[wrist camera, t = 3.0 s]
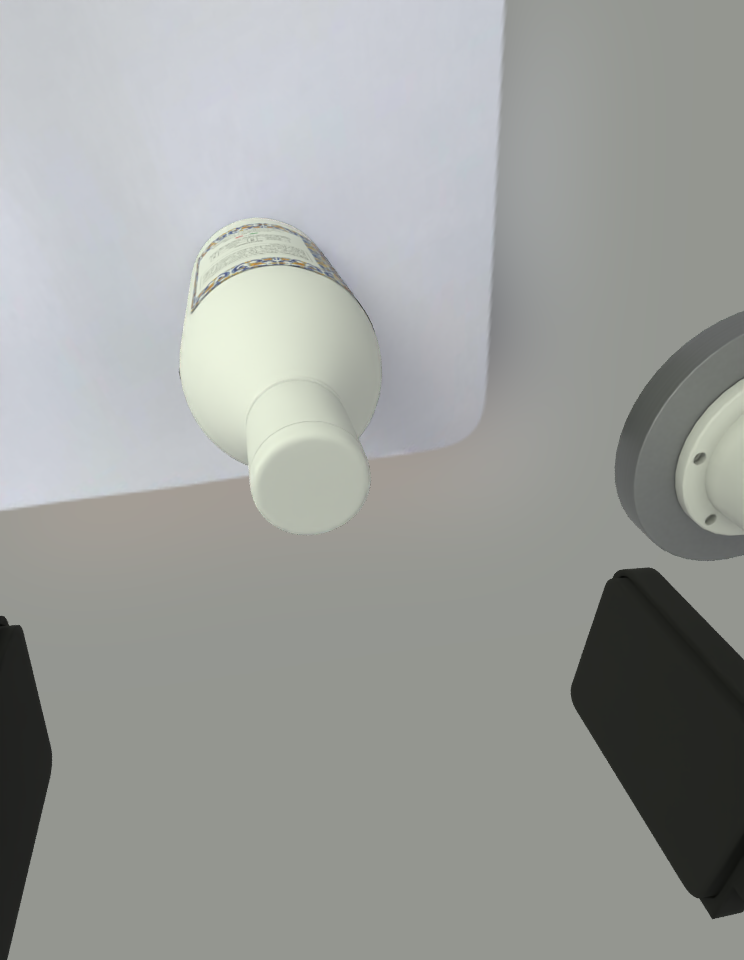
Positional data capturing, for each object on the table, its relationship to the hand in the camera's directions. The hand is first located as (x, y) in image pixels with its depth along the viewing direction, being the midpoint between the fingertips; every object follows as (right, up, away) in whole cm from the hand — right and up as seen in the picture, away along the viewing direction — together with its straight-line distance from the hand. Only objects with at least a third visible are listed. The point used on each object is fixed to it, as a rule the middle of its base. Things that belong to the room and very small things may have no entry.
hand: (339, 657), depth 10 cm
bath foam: (-5, +13, +22) cm, 26 cm away
